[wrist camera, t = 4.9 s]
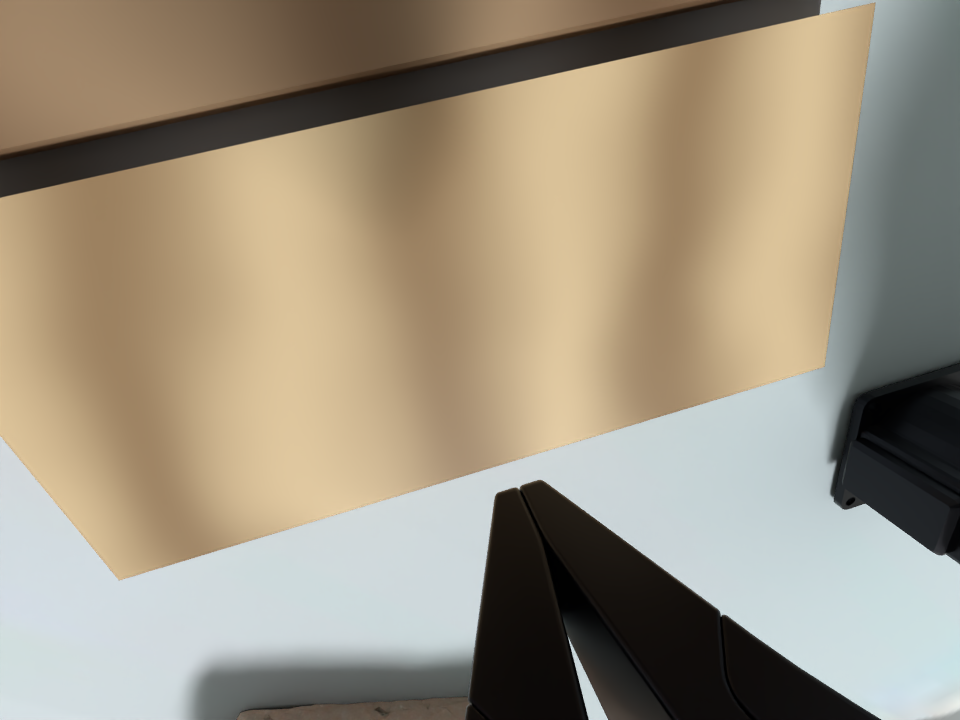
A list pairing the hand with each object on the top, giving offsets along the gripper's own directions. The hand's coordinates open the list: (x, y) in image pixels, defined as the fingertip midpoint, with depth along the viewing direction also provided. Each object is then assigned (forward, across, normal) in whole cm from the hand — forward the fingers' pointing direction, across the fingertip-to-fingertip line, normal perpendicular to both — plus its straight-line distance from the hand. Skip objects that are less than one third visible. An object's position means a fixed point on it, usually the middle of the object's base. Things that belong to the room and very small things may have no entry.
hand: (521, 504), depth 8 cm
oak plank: (+6, 0, -2) cm, 7 cm away
